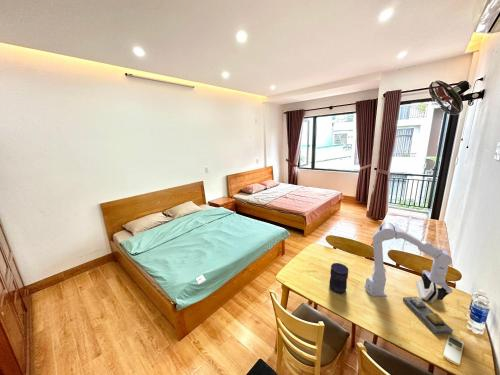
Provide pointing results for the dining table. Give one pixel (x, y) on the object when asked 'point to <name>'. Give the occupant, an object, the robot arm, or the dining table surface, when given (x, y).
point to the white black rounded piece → (427, 291)
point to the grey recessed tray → (423, 315)
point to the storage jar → (338, 278)
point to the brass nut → (435, 319)
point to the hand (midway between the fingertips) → (432, 293)
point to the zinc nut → (418, 303)
